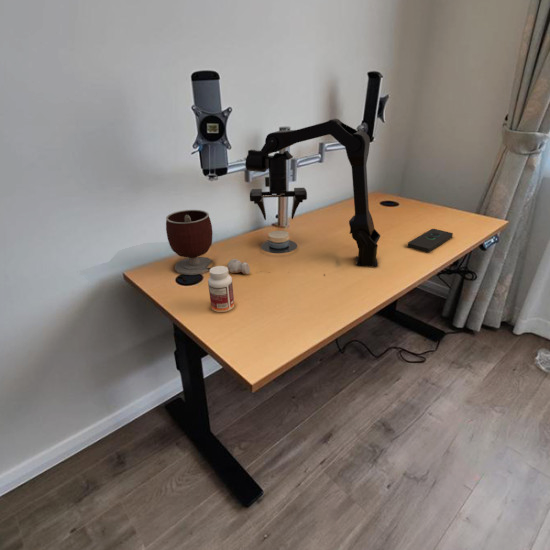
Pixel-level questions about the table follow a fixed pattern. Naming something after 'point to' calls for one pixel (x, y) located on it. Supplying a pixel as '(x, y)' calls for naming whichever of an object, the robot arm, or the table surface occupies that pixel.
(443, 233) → the smart home device
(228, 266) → the pale two-lobed sculpture
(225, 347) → the table surface
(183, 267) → the mate gourd
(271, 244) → the blue saucer
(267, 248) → the charcoal plate
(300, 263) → the table surface
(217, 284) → the pill bottle
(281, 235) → the cream saucer
